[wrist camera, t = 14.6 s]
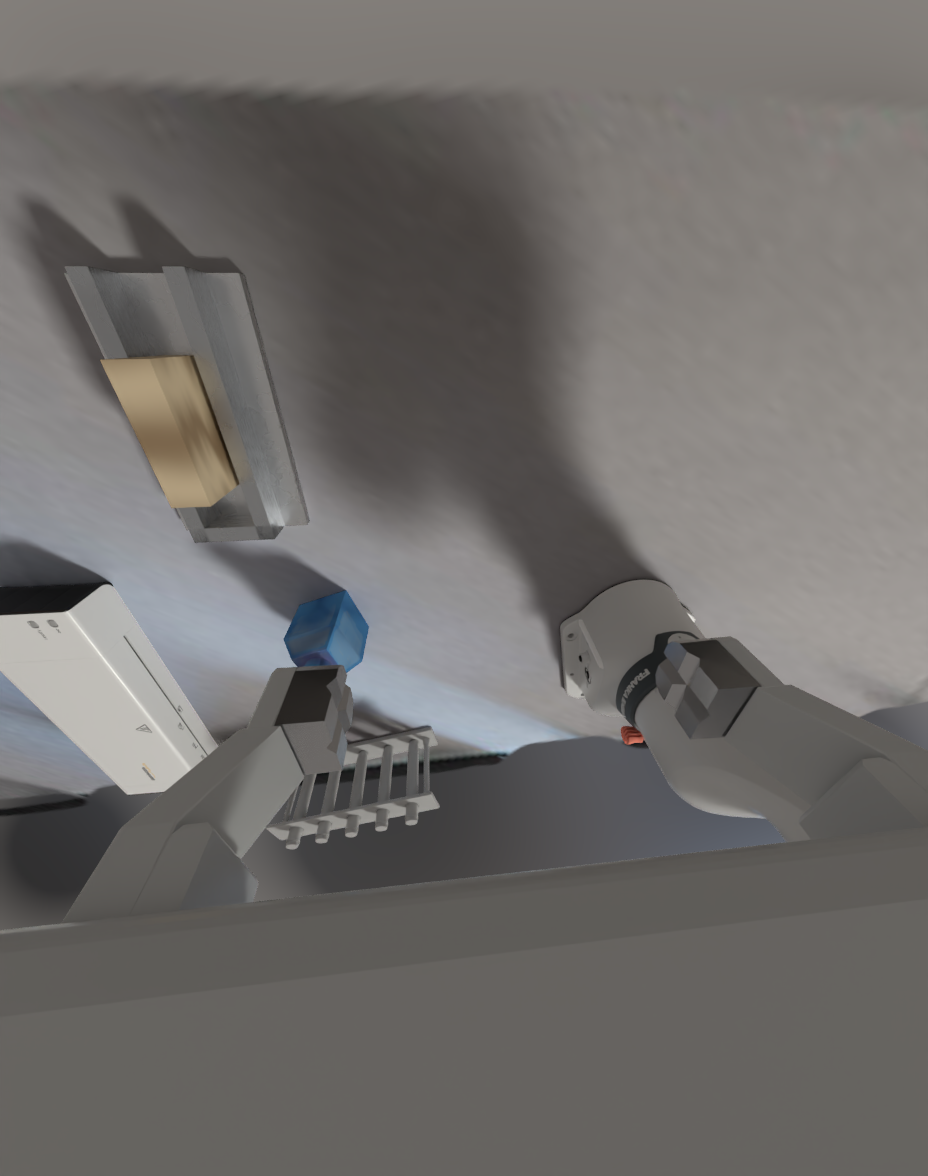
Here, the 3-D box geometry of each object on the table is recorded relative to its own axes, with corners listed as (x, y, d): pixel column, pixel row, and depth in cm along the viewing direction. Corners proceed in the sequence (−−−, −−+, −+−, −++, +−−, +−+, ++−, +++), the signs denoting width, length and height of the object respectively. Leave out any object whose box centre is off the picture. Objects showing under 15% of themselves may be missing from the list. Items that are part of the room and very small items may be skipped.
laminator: (223, 750, 60) (205, 789, 55) (144, 757, 59) (118, 796, 54) (110, 576, 41) (65, 610, 36) (-9, 581, 40) (-73, 617, 35)
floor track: (309, 520, 39) (299, 537, 36) (191, 526, 38) (169, 543, 35) (244, 275, 28) (220, 266, 24) (74, 274, 27) (25, 266, 24)
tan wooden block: (246, 478, 35) (210, 506, 29) (213, 479, 35) (171, 508, 29) (203, 354, 29) (149, 358, 24) (163, 355, 29) (99, 359, 23)
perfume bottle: (368, 626, 48) (354, 702, 38) (325, 640, 48) (299, 717, 39) (346, 590, 44) (323, 662, 34) (299, 605, 45) (264, 680, 35)
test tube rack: (300, 770, 65) (275, 857, 54) (288, 756, 62) (259, 845, 51) (437, 740, 63) (440, 824, 52) (431, 725, 61) (432, 810, 50)
